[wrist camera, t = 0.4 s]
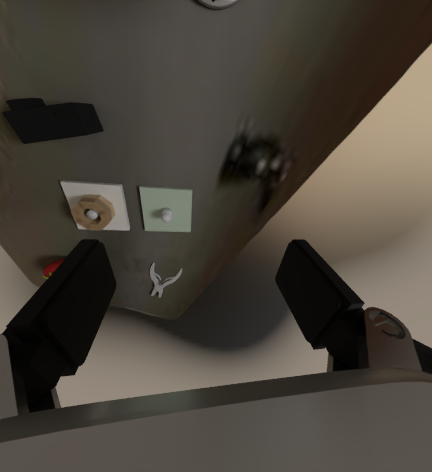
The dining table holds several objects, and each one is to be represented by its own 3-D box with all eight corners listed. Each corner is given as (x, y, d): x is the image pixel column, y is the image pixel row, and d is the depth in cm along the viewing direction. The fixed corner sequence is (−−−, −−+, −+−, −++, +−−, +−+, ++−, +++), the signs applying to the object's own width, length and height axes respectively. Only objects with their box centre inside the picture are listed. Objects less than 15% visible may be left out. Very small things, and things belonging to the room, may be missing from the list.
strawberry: (87, 268, 53) (69, 296, 45) (57, 262, 51) (32, 291, 43) (89, 254, 50) (69, 282, 42) (57, 247, 48) (30, 275, 40)
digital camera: (89, 95, 31) (67, 92, 25) (104, 130, 34) (87, 134, 29) (30, 103, 31) (-6, 101, 25) (50, 138, 34) (22, 144, 28)
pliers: (182, 271, 57) (169, 299, 64) (183, 268, 58) (169, 295, 66) (151, 264, 54) (141, 294, 61) (152, 261, 55) (142, 290, 62)
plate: (140, 185, 41) (134, 194, 37) (192, 189, 43) (192, 197, 39) (145, 228, 48) (141, 240, 44) (190, 230, 50) (190, 241, 46)
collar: (76, 193, 39) (66, 201, 36) (110, 195, 40) (104, 202, 37) (86, 220, 43) (78, 229, 40) (117, 221, 44) (111, 230, 41)
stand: (62, 180, 38) (49, 187, 35) (121, 184, 40) (115, 191, 37) (80, 226, 45) (70, 237, 41) (130, 228, 47) (125, 238, 43)
